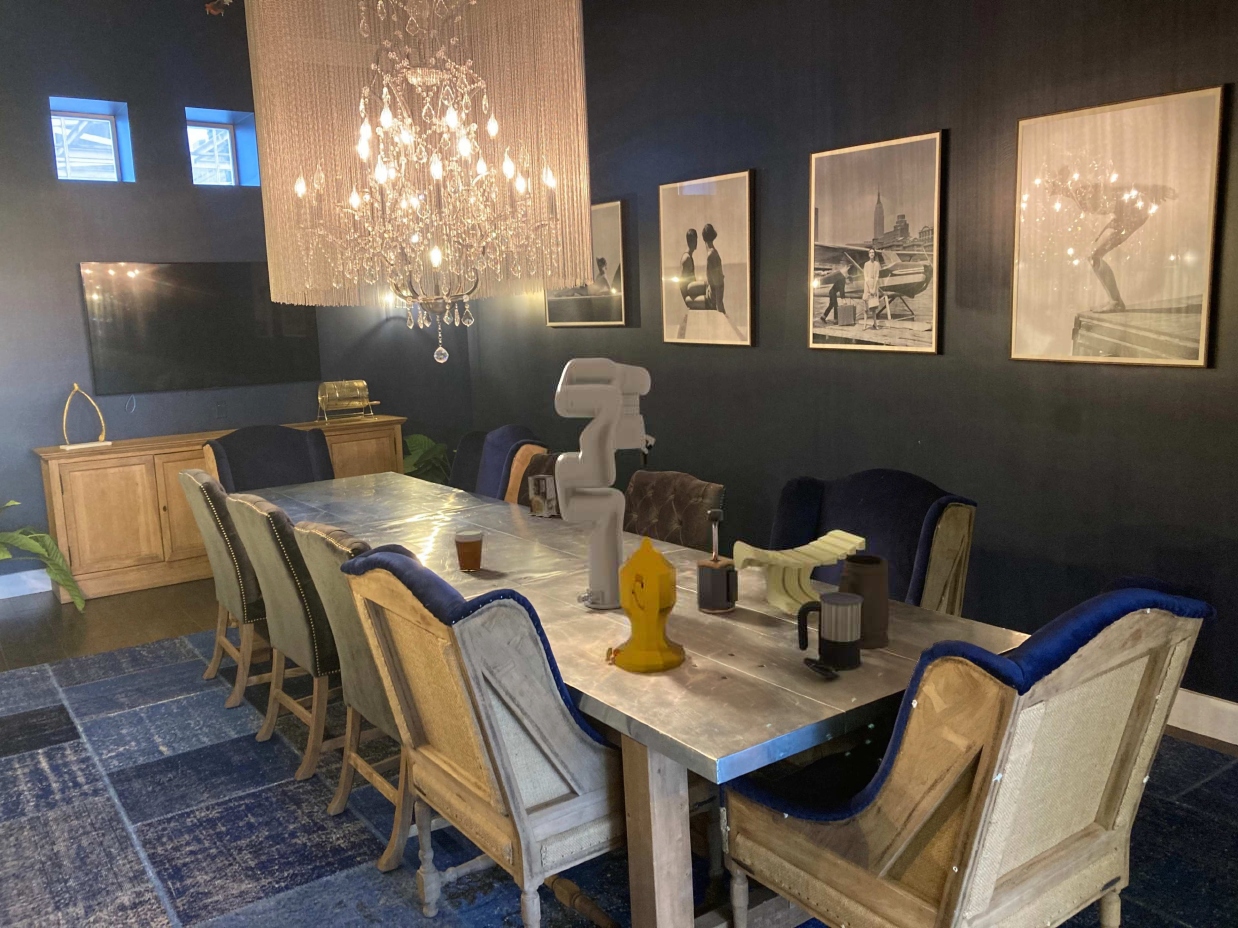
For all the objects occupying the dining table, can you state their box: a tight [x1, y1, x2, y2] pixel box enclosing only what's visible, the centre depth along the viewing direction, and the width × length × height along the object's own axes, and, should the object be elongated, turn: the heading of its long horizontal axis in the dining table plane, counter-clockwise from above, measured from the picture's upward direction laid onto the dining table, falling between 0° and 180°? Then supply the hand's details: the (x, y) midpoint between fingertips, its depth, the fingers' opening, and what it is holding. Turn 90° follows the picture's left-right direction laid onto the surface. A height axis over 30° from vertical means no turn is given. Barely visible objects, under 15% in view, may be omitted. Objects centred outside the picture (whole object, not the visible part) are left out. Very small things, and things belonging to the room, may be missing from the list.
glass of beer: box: [452, 528, 485, 571], centre depth 300 cm, size 10×10×12 cm
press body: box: [696, 555, 739, 615], centre depth 251 cm, size 10×11×13 cm
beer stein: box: [837, 554, 890, 649], centre depth 220 cm, size 15×11×20 cm
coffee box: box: [527, 474, 558, 518], centre depth 385 cm, size 9×6×16 cm
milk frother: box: [796, 591, 863, 680], centre depth 205 cm, size 14×16×15 cm
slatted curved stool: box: [732, 529, 866, 616], centre depth 253 cm, size 30×16×18 cm, turn 110°
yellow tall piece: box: [604, 536, 687, 674], centre depth 213 cm, size 18×24×28 cm
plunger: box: [703, 508, 727, 568], centre depth 249 cm, size 6×6×15 cm
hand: (628, 467), depth 291 cm, fingers open, 9 cm apart
